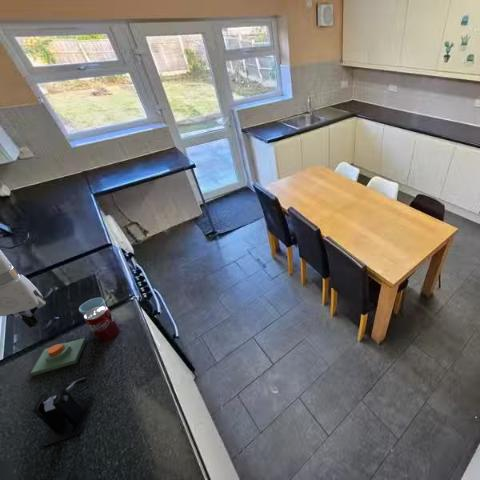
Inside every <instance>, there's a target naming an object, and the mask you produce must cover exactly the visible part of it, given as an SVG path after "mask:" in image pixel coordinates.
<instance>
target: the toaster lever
mask: <svg viewBox="0 0 480 480" xmlns="http://www.w3.org/2000/svg"><path fill="white" fill-rule="evenodd" d="M86 382H87V378H86V377H82V378H79V379H76V380H72V381H69V382H67V383H66V384H65V389H66V390H67V392H68V393H70V392H71V391H72V390H73V389H75V388H76V386H78V385H81V384H84V383H86ZM56 396H57V394H56V395H52V396H49V398H48V399H47V400H46V401H45V402H43V406H44V409H45V412H46V411H49V410H52V409H55V407H54V406H53V402H54V400H55V398H56Z"/></svg>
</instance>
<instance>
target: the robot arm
mask: <svg viewBox="0 0 480 480" xmlns="http://www.w3.org/2000/svg"><path fill="white" fill-rule="evenodd" d="M46 304H47V302H46V301H45V300H44V296H43V294H42V293H41V291H40V290H39V289H38V288H37V286H35V285H34V284H33V282H31V281H30V280H29V279H28V278H27V277H26V276H24V275H23V274H19V272H18V271H17V269H15V267H14V265H12V263H11V261H10V260H9V259H8V258H7V256H6V255H5V253H4V252H3V251H2V250H1V249H0V317H7V316H11V317H15V318H16V319H18V320H22V321H23V323H24V324H25V325H26V326H27V327H28V328H29V329H31V328H33V327H37V326H38V325H39V324H40V322H41V320H42V319H41V317H40V315H39V314H38V313H37V310H38V309H41V308H43V307H45V305H46Z"/></svg>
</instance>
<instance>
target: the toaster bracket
mask: <svg viewBox="0 0 480 480" xmlns="http://www.w3.org/2000/svg"><path fill="white" fill-rule="evenodd" d="M56 395H57V396H56V398H55V400H54V402H53V406H54V407H55V409H52V410H49V411H46V412H45V409H44V406H43V402H45V401H46V400H47V399H48V398H50V396H49V395H47V394H46V393H42V394H40V396H39V398H38V400H37V402H36V404H35V405H34V408H33V410H32V412H33V413H34V414H35V415H36V416H37V417H38V418H39V419H41V420H42V422H43V423H44V424H46V425H47V426H48V428H49V429H50V431H49V432H48V435H47V437H46V440H45V441H44V444H43V448H47V447H49V446H52V445H54V444H57V443H60V442H62V441H65V440H68V439H70V438H74V437H76V436H80V435H81V434H82V433H83V429H84V427H85V424H86V421H87V418H88V415H89V413H90V409H91V407H92V404H93V400H94V399H93V398H89V399H86V400H83V401H80V402H78V401H77V400H76V399H75V398H74V397H73V396H72V395H71V394H70V392H67V390H66V387H61V388H59V389H58V392H57V394H56Z"/></svg>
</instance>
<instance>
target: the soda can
mask: <svg viewBox="0 0 480 480" xmlns="http://www.w3.org/2000/svg"><path fill="white" fill-rule="evenodd" d="M83 321H84V322H85V324H86V325H87V327H88V329H90V332H91V333H92V334H93V335H94V337H95V338H96V340H97V341H98V343H99V342H100V343H106V342H108V341H111V340H113V339H114V338H116V337H117V336H118V335H119V334H121V331H122V329H121V328H120V326H119V324H118V322H117V321H116V319H115V317H114V315H113V314H112V312H111V310H110V308H109V307H108V306H107V305H106V306H98V307H95V308H93V309H91V310H89V311H88V312H87V313H86V314H85V316H84V315H83Z"/></svg>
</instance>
